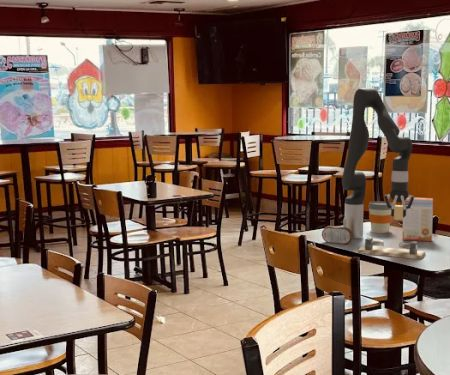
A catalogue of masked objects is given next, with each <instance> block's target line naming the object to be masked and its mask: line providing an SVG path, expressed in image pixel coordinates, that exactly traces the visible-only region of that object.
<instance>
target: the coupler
mask: <svg viewBox="0 0 450 375" xmlns="http://www.w3.org/2000/svg"><path fill="white" fill-rule="evenodd" d="M393 220H396V221H403V204H401V205H400V204H395V206H394V217H393Z"/></svg>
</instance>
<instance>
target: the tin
mask: <svg viewBox="0 0 450 375" xmlns="http://www.w3.org/2000/svg"><path fill="white" fill-rule="evenodd" d="M321 237H322V239H323V240H324V242H325V243H327V244H335V245H348V244H350V243H351V242H352V240H354V239H353V233H352V231H351V230H350V229H349V228H347V227H343V226H338V225H327V226H325V227H324V228H323V229H322V232H321Z"/></svg>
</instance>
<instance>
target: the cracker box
mask: <svg viewBox="0 0 450 375" xmlns="http://www.w3.org/2000/svg"><path fill="white" fill-rule="evenodd" d="M409 202H410V200H409V197H408V198H407V199H406V200H405V204H406V206H408V204H409ZM433 212H434V198H433V197H431V198H430V197H414V200H413V202H412V205H411V207H410V209H407V210H406V216H404V218H403V220H402V237H401V238H402V239H401V240H403V241H416V242H418V241H421V242H432V240H433Z"/></svg>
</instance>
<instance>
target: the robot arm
mask: <svg viewBox="0 0 450 375" xmlns="http://www.w3.org/2000/svg"><path fill="white" fill-rule="evenodd" d="M367 108H371V109H372V110H373V111H374V112H375V113H376V115H377V118H376V120H377V125H378V127H379V129H380V131H381V132H382V134H383V135H384V136H385V139H386V142H387V146H388V147H389V150H390V151H392V152H393V153H395V154H396V153H399V154H398V156H397V157H394V158H393V159H392V166H391V167H392V169H391V170H392V171H391V178H390V179H391V180H390V182H391V183H390V185H391V187H390V193H389V194H384V196H383V197H384V200H385V201H384V202H386V204H387V207H388V208H391V216H392V218H394V206H395V205H397V203H401V205H403V218H404V216H406V210H407V209H410V207H411V205H412V202H413V200H414V198H415V195H411V194H409V161H410V157H411V154H412V150H413V141H412V140H411V138H410V137H409V136H399V134H400V132H401V131H400V129H399V126H398V125H397V124H396V123H395V121H394V120H393V118H392V117H391V115H390V114H389V112H388V110H387V107H386V106H385V103H384V101H383V99H382V97H381V95H380V93H379V92H378V90H377V89H375V88H371V87H369V88H368V87H362V88H360V87H359V88H357V89H356V91H355V93H354V96H353V104H352V119H351V120H352V121H351V129H350V134H349V139H348V150H347V154H346V155H347V156H346V160H345V165H344V168H343V172H342V177H341V185H342V188H343V189H344V190H345V191H352V193H350V195H348V196H346V197H345V199H344V218H343V219H342V220H343V221H342V223H343V225H342V227H347V228H349V229H350V230H351V231H352V233H353V239H352V240H354V239H355V240H357V239H363V238H364V202H365V199H366V189H367V179H366V175H365V173H364V172H363V171H356V168H357V165H358V163H359V161H360V160H361V159H362V157H363V156H364V154H365V153H366V152H367V150H368V145H369V140H370V131H369V128H368V126H367V123H366V120H365V112H366V109H367ZM408 197H409V200H410V202H409V204H408V206H406V204H405V200H406V199H407V198H408ZM390 198H391V199H392V203H393V204H392V205H390V203H389V202H390Z"/></svg>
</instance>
